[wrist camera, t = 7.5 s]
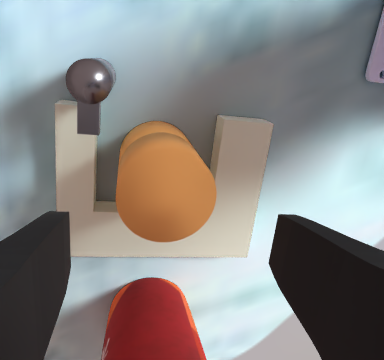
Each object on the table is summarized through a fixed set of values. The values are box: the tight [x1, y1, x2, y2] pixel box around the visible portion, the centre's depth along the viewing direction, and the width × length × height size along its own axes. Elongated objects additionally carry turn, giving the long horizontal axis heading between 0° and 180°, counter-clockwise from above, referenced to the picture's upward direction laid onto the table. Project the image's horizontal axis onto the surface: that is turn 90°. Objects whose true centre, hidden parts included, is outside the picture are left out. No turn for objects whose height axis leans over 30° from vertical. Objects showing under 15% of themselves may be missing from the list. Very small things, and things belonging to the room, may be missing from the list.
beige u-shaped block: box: [55, 100, 274, 257], centre depth 20 cm, size 12×9×2 cm
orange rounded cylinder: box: [116, 121, 217, 242], centre depth 17 cm, size 4×4×6 cm
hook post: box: [66, 58, 116, 135], centre depth 16 cm, size 2×3×5 cm, turn 174°
